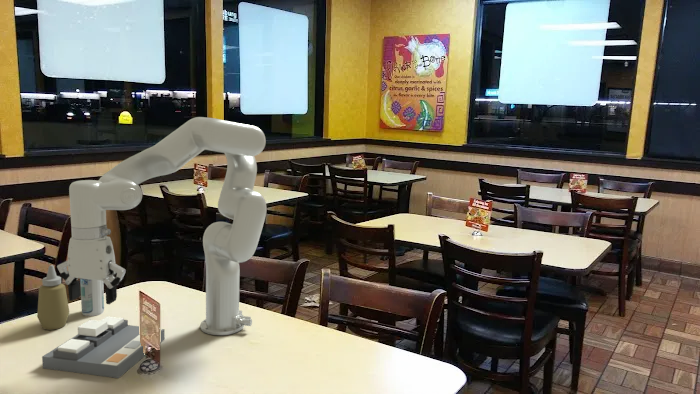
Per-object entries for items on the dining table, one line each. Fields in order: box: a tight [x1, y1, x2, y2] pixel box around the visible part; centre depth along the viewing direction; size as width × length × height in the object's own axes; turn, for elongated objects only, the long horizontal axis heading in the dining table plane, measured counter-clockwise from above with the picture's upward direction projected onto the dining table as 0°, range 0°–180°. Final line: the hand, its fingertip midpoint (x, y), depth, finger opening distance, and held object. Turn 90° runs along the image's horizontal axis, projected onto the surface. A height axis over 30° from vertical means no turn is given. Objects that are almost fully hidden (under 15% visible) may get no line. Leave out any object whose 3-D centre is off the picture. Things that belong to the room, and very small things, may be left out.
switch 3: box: [100, 315, 125, 328], centre depth 146 cm, size 5×5×2 cm
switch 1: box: [57, 338, 90, 353], centre depth 131 cm, size 5×5×2 cm
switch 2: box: [77, 319, 108, 337], centre depth 138 cm, size 5×5×2 cm
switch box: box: [41, 319, 166, 379], centre depth 138 cm, size 20×22×5 cm
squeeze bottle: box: [36, 264, 70, 331], centre depth 152 cm, size 8×8×18 cm
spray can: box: [79, 279, 105, 317], centre depth 162 cm, size 6×6×20 cm
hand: (92, 300), depth 130 cm, fingers open, 9 cm apart
